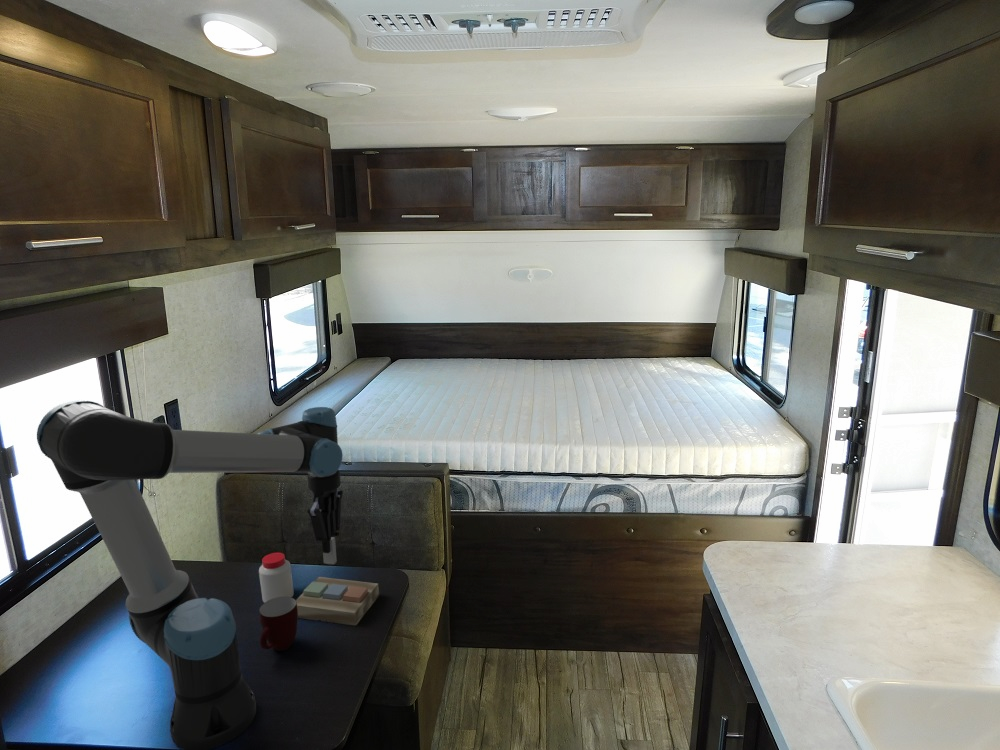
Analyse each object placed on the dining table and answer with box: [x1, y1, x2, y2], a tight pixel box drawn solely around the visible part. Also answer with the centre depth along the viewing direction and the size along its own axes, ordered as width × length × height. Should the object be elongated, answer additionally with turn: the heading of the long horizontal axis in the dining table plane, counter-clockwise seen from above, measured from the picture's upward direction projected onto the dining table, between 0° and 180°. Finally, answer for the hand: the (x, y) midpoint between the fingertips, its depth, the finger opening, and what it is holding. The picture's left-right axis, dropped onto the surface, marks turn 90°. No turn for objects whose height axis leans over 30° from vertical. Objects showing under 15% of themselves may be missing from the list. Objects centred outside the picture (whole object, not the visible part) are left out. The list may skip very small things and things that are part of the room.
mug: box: [258, 597, 298, 652], centre depth 142 cm, size 11×8×10 cm
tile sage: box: [302, 581, 328, 598], centre depth 160 cm, size 4×4×3 cm
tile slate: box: [323, 584, 348, 601], centre depth 158 cm, size 4×4×3 cm
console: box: [295, 576, 380, 626], centre depth 159 cm, size 13×17×3 cm
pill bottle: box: [258, 552, 295, 604], centre depth 163 cm, size 8×8×11 cm
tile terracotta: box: [343, 586, 368, 603], centre depth 157 cm, size 4×4×3 cm
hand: (330, 562), depth 156 cm, fingers closed
